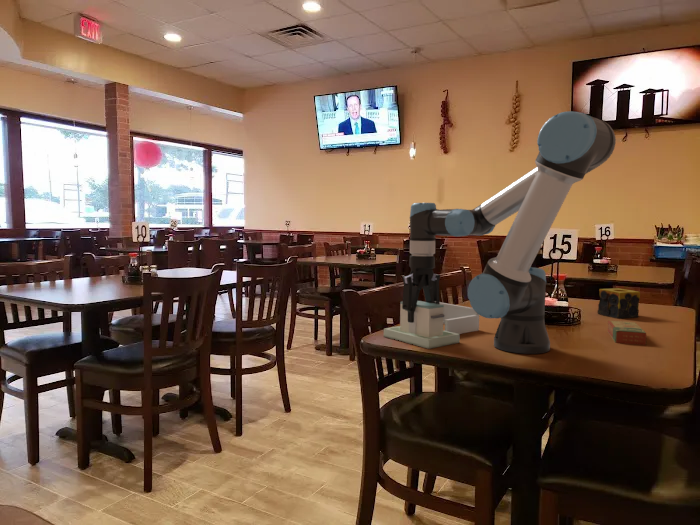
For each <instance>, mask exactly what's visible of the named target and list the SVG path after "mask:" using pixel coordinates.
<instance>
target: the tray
mask: <svg viewBox="0 0 700 525" xmlns="http://www.w3.org/2000/svg"><path fill="white" fill-rule="evenodd" d="M460 335H461V334H457V333H452V332H448V331H445V329H443V335H441V336H436V337H431V338H427V337H423V336H419V335H415V334H411V333H407V332H403V331H400V325H398V326H392V327H386V328H383V338H388V339H391V340H394V339H395V341H398V340H399V342H401V341H402V343H406V344H409V345H412V344H413V345H412V346H417V347H420V348H424V349H426V350H430V349H434V348H440V347H444V346H449V345H455V344H458V343H460V340H461V339H460Z"/></svg>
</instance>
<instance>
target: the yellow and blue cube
mask: <svg viewBox="0 0 700 525" xmlns="http://www.w3.org/2000/svg"><path fill="white" fill-rule="evenodd" d="M598 291H599V302H598V304H597V307H598V310H597V314H598V315H601V316H605V317H609V318H614V319H619V320H620V319H634V318H639V312H640V310H639V305H640V304H639V303H640V300H641V299H640V296H641V292H640V291H636V290H633V289H632V290H631V289H626V288H625V289H624V288H621V287H620V288H619V287H617V288H599V290H598Z"/></svg>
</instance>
